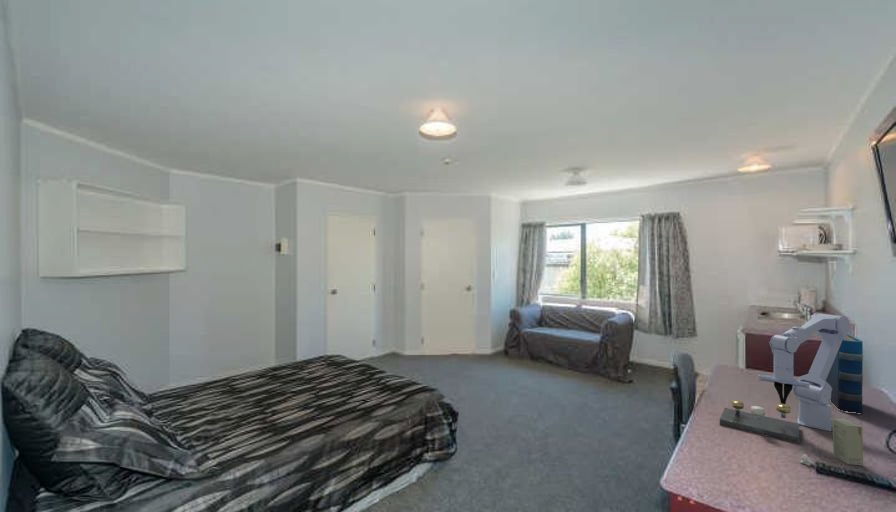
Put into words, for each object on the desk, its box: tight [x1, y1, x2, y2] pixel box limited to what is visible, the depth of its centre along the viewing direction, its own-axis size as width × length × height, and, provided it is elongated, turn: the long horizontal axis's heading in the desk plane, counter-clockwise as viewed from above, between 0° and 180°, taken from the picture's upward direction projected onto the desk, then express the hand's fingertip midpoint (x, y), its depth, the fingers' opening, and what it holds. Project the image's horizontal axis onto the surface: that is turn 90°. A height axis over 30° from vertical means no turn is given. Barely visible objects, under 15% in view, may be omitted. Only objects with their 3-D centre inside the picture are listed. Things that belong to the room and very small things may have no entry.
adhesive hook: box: [799, 453, 815, 467], centre depth 123 cm, size 3×3×3 cm
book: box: [826, 333, 864, 413], centre depth 170 cm, size 24×9×30 cm, turn 148°
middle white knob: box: [750, 405, 766, 420], centre depth 146 cm, size 4×4×4 cm
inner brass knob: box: [775, 403, 791, 419], centre depth 148 cm, size 4×4×4 cm
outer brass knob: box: [730, 399, 745, 413], centre depth 157 cm, size 4×4×4 cm
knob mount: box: [719, 407, 800, 444], centre depth 149 cm, size 23×15×2 cm, turn 48°
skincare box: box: [832, 417, 864, 466], centre depth 125 cm, size 6×4×12 cm
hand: (783, 403), depth 148 cm, fingers closed
